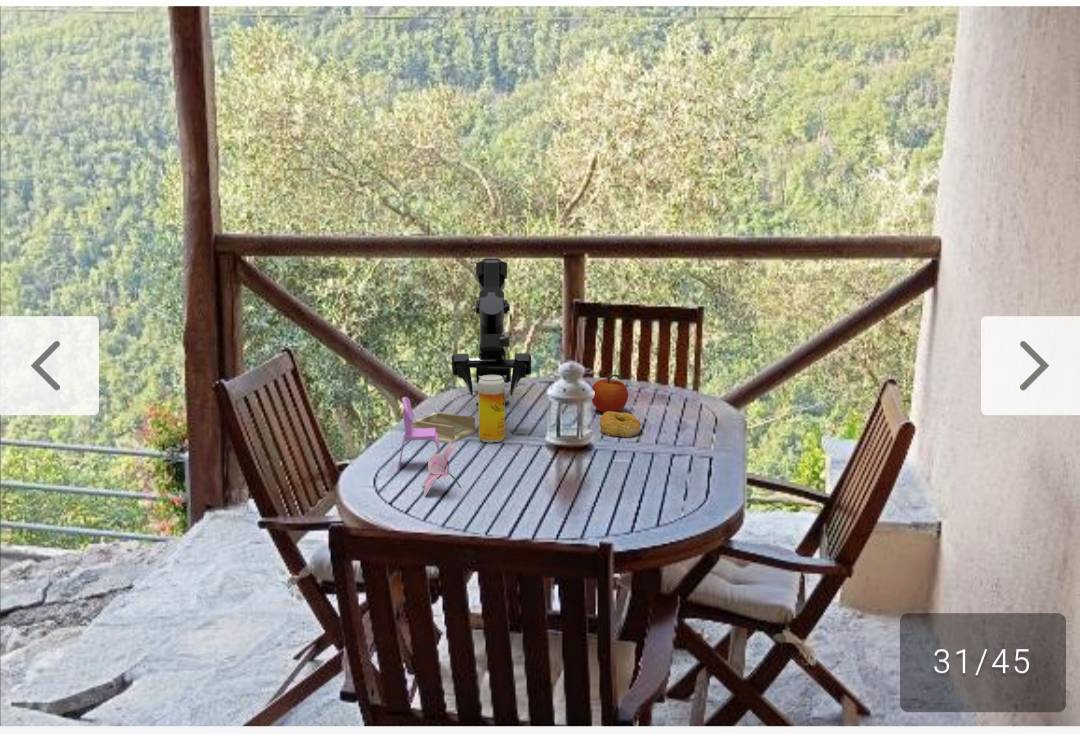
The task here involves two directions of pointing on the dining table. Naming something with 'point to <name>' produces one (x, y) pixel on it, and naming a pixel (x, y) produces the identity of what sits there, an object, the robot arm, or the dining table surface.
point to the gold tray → (447, 425)
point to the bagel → (619, 424)
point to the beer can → (491, 408)
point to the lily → (439, 467)
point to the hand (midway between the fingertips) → (491, 394)
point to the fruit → (610, 394)
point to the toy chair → (413, 432)
